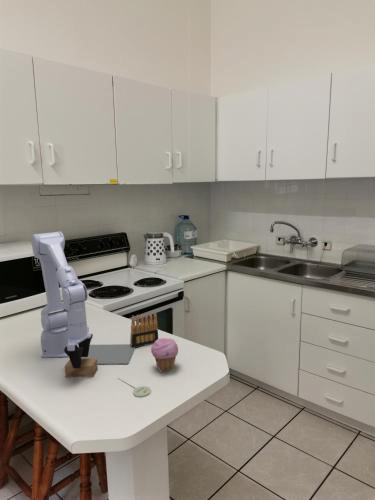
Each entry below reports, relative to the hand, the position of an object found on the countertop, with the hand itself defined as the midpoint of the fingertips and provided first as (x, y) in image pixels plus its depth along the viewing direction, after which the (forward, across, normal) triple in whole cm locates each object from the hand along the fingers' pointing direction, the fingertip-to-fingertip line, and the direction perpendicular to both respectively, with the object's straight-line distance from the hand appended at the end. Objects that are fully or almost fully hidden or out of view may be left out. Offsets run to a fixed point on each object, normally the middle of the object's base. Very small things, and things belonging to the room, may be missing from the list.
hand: (80, 362), depth 121 cm
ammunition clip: (+4, +21, -17) cm, 27 cm away
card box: (+4, 0, 0) cm, 4 cm away
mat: (+4, +13, -4) cm, 14 cm away
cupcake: (+4, +3, -27) cm, 27 cm away
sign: (+5, -8, -18) cm, 20 cm away
